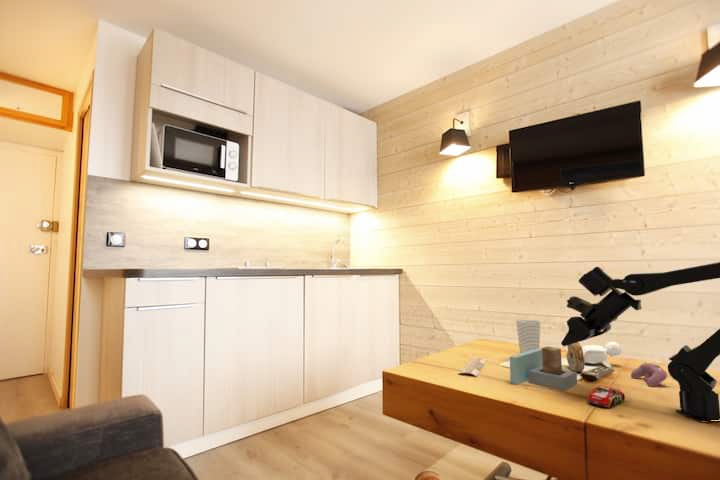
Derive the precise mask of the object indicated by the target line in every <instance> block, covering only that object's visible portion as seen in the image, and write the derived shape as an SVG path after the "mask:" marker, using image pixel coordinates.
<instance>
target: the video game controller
mask: <svg viewBox="0 0 720 480" xmlns="http://www.w3.org/2000/svg"><path fill="white" fill-rule="evenodd" d="M630 377H631V378H632V379H640V378H642V377H643V380H646V385H647V386H648V387H651V388H652V387H657V386H658V385H660V384H661V383H663V382H664V381H665V380H666V379H667V377H668V373H667V371H665V370H664V368H662V367H661V366H660V365H657V364H655V363H652V362H650V363H647V362H644V363H642V364H640V365H639V366H638V367H636V368H635V369H633V370H632V371H631V373H630Z"/></svg>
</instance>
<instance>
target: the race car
mask: <svg viewBox="0 0 720 480" xmlns="http://www.w3.org/2000/svg"><path fill="white" fill-rule="evenodd" d="M587 402H588V403H589V404H592V405H595V406H600V407H603V408H610V409H613V408H614V407H615V406H617V405H618V404H621V403H622V402H625V393H624V392H623V391H621V390H618V389H615V388H611V387H607V386H602V385H599V386H597V387H595V388H594V389H592V390H591V391H590V392H589V393H588V396H587Z"/></svg>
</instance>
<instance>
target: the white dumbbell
mask: <svg viewBox="0 0 720 480" xmlns="http://www.w3.org/2000/svg"><path fill="white" fill-rule="evenodd" d="M581 348H582V351H583V356H584V364H589V365H597V364H603V365H604V366H605V367H607V368H608V369H612V368H613V366H612V364H611V363H610V362H609V361H608V360H607V359H608V355H609V357H615V356H619V355H621V354H622V351H623V350H622V346H621V345H620V344H619V343H618V342H616V341H608V342H607V343H606V344H605V345H604V347H603V346H602V345H598V344H596V345H590V344H589V345H584V346H581Z"/></svg>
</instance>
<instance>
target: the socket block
mask: <svg viewBox="0 0 720 480" xmlns="http://www.w3.org/2000/svg"><path fill="white" fill-rule="evenodd" d="M528 382H529V384H533V385H538V386H542V387H545V388H550V389H554V390H558V391H563V392H565V391H567V390H569V389H571V388H574V387H575V386H576V385H578V372H574V371H572V370H569V369H563V368H562V374H561V375H554V374H550V373H545V372H543V366H540V367H538V368H535V369H532V370H530V371H529V380H528Z"/></svg>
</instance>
